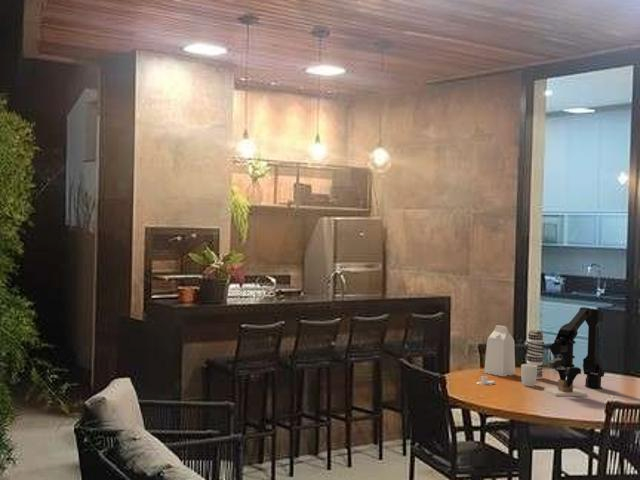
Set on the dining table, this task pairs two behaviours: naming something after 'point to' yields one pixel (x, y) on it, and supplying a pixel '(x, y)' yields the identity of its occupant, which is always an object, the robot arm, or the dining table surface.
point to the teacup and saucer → (485, 380)
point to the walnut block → (564, 386)
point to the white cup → (528, 374)
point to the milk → (500, 353)
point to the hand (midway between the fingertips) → (565, 385)
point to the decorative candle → (535, 350)
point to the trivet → (559, 393)
